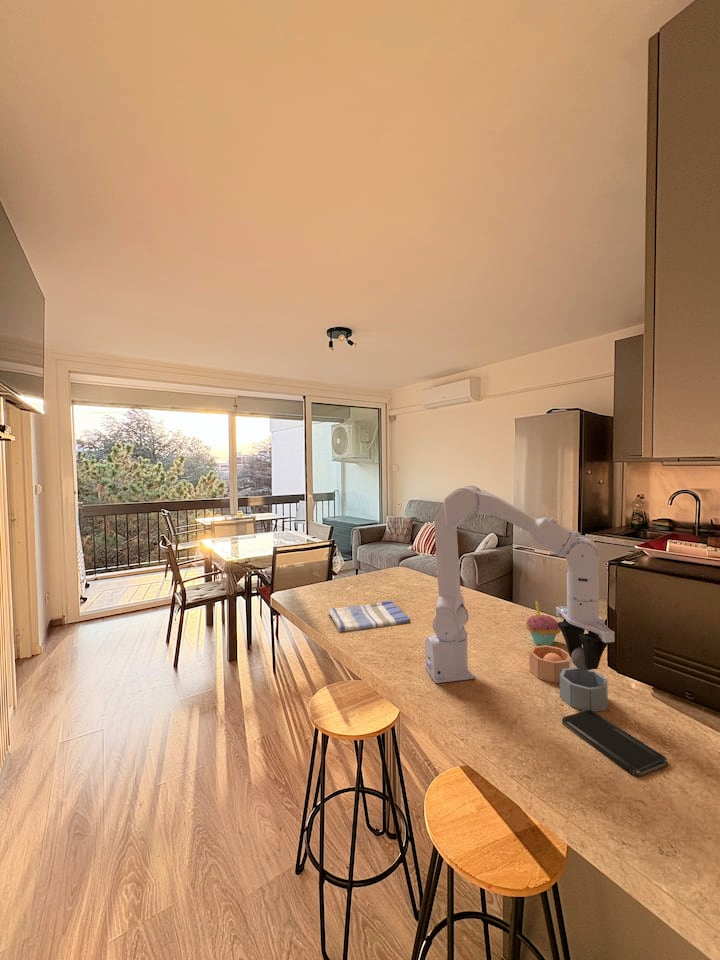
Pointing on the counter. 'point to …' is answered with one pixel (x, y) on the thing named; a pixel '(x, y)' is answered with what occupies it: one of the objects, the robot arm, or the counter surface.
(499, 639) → the counter surface
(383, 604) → the dish towel
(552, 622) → the cupcake
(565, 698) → the slate cup
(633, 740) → the phone
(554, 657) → the terracotta ball
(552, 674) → the terracotta octagonal bowl
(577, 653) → the charcoal ball
